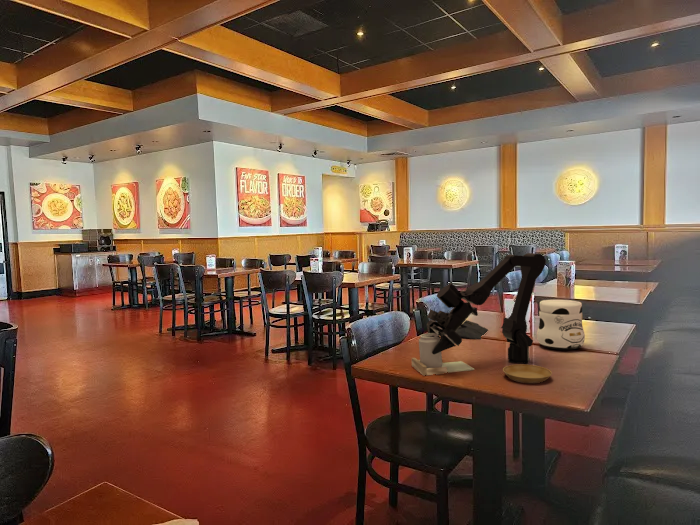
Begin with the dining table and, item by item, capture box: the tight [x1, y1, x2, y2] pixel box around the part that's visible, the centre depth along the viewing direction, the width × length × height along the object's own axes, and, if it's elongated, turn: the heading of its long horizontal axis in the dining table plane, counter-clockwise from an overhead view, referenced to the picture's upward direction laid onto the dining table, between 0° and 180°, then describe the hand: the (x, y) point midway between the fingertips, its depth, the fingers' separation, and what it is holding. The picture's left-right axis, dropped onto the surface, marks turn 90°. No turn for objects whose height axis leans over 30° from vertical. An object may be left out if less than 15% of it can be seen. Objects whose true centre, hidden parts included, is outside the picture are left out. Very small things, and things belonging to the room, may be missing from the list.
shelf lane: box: [411, 357, 448, 377], centre depth 168 cm, size 8×12×3 cm
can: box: [418, 332, 443, 368], centre depth 168 cm, size 8×8×12 cm
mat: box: [442, 360, 475, 373], centre depth 170 cm, size 10×10×1 cm
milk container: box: [536, 299, 586, 351], centre depth 192 cm, size 17×17×18 cm
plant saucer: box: [502, 363, 553, 384], centre depth 156 cm, size 15×15×3 cm
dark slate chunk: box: [456, 319, 489, 340], centre depth 221 cm, size 15×22×5 cm
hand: (427, 350), depth 167 cm, fingers open, 9 cm apart
